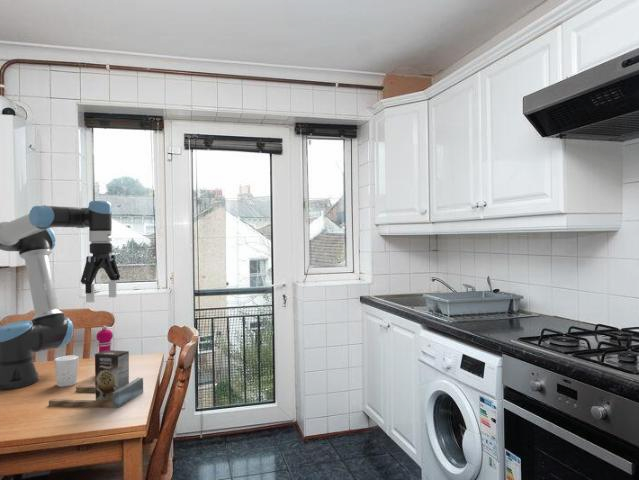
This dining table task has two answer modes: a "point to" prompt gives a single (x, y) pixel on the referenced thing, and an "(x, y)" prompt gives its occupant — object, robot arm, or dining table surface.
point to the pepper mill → (104, 339)
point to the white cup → (66, 370)
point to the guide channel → (119, 400)
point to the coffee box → (110, 373)
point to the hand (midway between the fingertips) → (101, 299)
